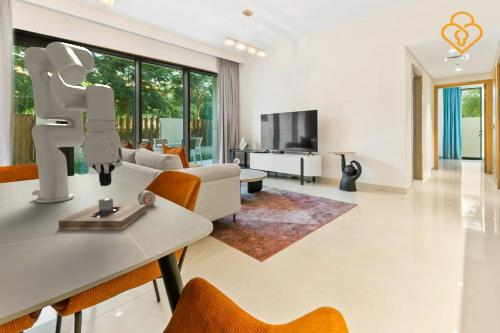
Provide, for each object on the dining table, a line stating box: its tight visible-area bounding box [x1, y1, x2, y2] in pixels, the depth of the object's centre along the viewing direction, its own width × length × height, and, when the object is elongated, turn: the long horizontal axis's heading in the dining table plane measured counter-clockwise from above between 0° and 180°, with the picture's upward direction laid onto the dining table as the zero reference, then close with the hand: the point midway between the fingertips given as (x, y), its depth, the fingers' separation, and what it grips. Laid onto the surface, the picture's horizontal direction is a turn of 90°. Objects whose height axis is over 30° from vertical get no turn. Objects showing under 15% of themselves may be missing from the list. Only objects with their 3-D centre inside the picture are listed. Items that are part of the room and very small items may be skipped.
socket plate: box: [57, 204, 148, 230], centre depth 82 cm, size 18×18×2 cm
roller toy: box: [137, 190, 156, 207], centre depth 99 cm, size 4×6×6 cm
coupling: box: [98, 197, 117, 217], centre depth 82 cm, size 9×4×6 cm, turn 0°
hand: (105, 185), depth 81 cm, fingers closed
